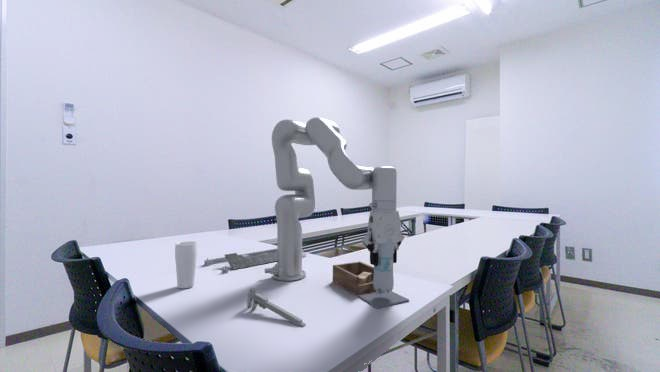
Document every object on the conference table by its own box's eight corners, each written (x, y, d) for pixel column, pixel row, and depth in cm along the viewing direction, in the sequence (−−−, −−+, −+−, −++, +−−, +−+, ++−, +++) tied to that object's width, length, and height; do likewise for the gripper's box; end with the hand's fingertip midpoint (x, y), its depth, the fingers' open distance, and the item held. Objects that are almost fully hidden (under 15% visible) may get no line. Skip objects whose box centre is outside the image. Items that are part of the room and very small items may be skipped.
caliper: (246, 309, 85) (247, 287, 85) (249, 307, 86) (250, 286, 86) (303, 328, 74) (303, 303, 74) (306, 326, 75) (306, 301, 75)
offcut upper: (364, 286, 98) (364, 278, 98) (355, 284, 100) (355, 277, 100) (372, 280, 105) (372, 273, 105) (363, 278, 106) (363, 271, 106)
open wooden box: (356, 295, 95) (356, 277, 95) (332, 281, 109) (332, 265, 109) (385, 289, 101) (385, 272, 101) (359, 276, 115) (359, 261, 115)
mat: (377, 308, 85) (377, 306, 85) (358, 296, 94) (358, 295, 94) (409, 301, 91) (409, 299, 91) (388, 290, 100) (388, 289, 100)
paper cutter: (204, 265, 130) (204, 253, 130) (288, 250, 161) (288, 240, 161) (221, 275, 117) (221, 261, 117) (309, 257, 147) (309, 246, 147)
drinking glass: (201, 284, 105) (201, 242, 104) (185, 291, 98) (186, 245, 98) (185, 282, 107) (186, 240, 107) (170, 288, 100) (170, 244, 100)
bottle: (394, 295, 89) (395, 228, 89) (371, 293, 90) (372, 227, 90) (394, 287, 95) (394, 225, 95) (373, 286, 97) (373, 224, 97)
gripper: (368, 207, 85) (367, 270, 85) (413, 206, 93) (412, 263, 93) (354, 206, 92) (353, 263, 92) (397, 204, 100) (396, 257, 100)
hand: (383, 262), depth 93 cm, fingers closed on bottle, 6 cm apart
